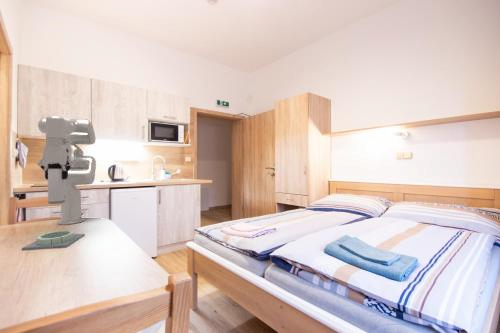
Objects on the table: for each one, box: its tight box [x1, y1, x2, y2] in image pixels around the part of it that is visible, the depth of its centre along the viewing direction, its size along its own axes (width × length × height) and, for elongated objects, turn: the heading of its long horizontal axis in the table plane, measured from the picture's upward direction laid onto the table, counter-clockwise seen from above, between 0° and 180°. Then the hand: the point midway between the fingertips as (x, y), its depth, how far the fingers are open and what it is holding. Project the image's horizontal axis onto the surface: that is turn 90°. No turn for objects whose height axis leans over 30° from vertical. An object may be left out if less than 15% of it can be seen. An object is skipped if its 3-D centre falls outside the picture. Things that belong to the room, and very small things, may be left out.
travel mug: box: [47, 163, 65, 205], centre depth 115 cm, size 6×7×20 cm
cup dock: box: [21, 229, 86, 251], centre depth 106 cm, size 16×16×4 cm
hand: (56, 178), depth 115 cm, fingers closed on travel mug, 6 cm apart
